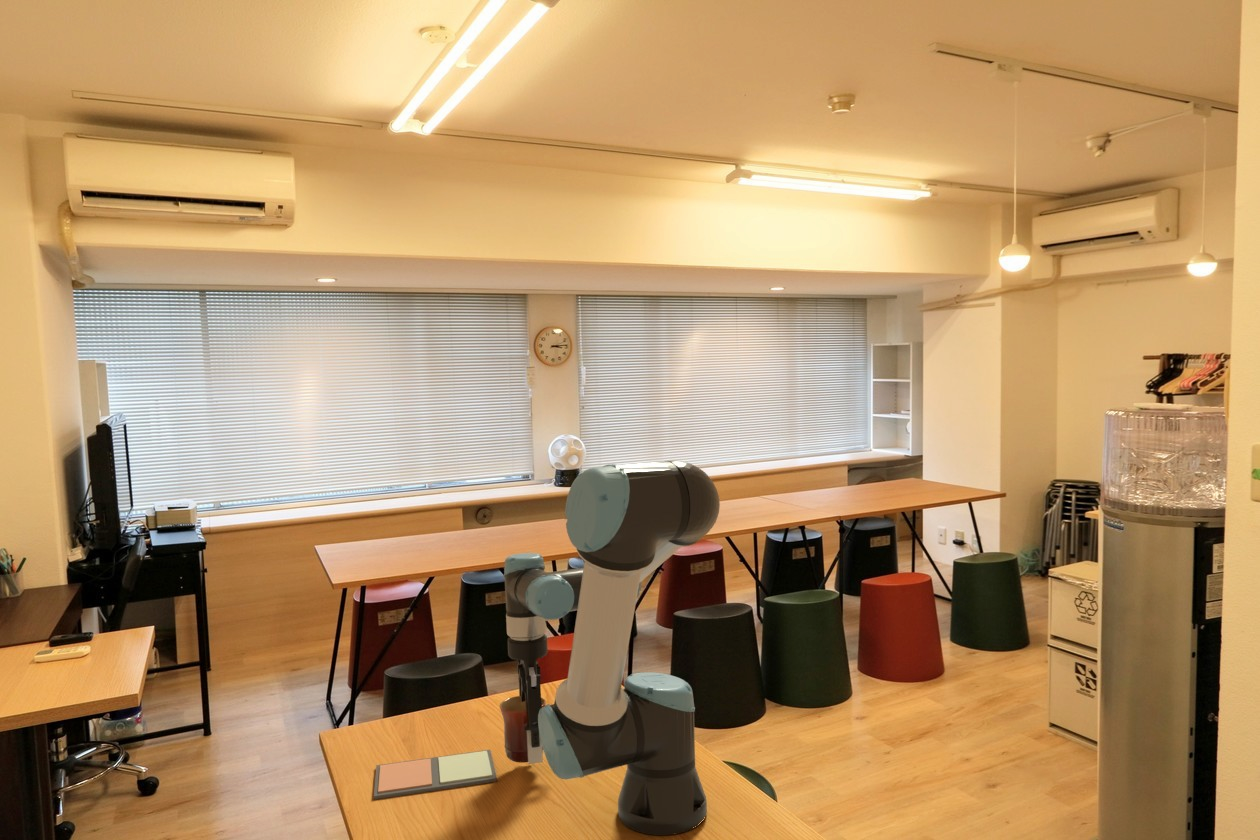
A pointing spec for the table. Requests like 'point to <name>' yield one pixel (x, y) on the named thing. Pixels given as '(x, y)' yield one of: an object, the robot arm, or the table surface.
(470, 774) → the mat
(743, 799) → the table surface
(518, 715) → the mug
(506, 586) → the robot arm
